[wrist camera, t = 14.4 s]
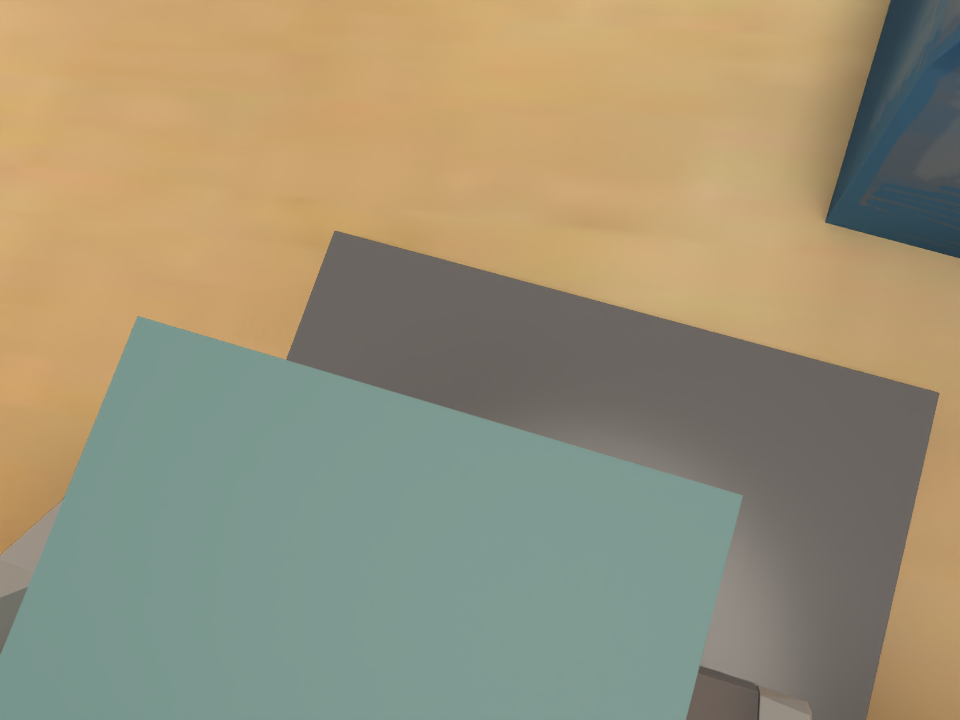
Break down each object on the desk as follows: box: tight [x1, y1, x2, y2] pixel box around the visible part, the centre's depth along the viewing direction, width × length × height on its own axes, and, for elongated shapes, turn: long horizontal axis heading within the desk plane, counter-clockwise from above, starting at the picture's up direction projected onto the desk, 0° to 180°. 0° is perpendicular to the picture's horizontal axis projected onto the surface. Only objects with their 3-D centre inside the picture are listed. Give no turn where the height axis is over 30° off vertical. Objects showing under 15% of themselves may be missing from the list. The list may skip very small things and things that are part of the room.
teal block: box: [0, 316, 743, 720], centre depth 10 cm, size 5×5×8 cm
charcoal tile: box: [286, 231, 939, 720], centre depth 18 cm, size 13×13×1 cm
